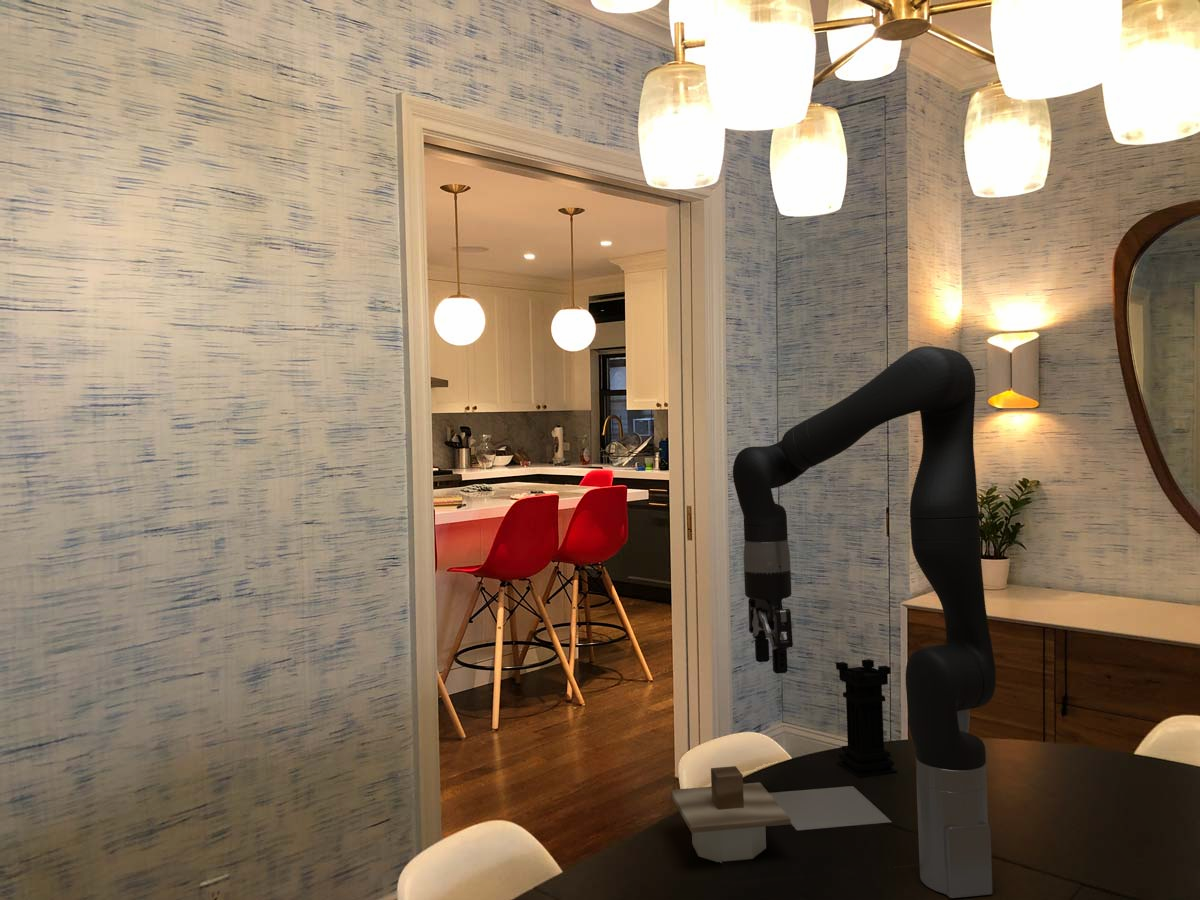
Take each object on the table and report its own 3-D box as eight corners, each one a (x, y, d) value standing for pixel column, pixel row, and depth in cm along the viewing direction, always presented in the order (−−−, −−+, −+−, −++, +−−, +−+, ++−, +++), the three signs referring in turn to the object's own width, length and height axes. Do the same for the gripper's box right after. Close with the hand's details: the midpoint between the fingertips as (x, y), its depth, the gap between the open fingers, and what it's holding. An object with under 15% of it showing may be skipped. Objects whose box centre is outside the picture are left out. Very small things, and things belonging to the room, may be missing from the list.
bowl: (772, 859, 137) (771, 819, 137) (703, 865, 135) (702, 825, 135) (752, 830, 147) (750, 793, 147) (688, 835, 146) (686, 798, 146)
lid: (790, 824, 135) (789, 785, 135) (691, 833, 133) (690, 793, 133) (760, 787, 150) (758, 752, 150) (670, 794, 148) (669, 759, 148)
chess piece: (859, 780, 167) (855, 671, 167) (836, 766, 175) (833, 662, 175) (897, 774, 169) (893, 667, 169) (873, 761, 177) (869, 658, 177)
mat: (892, 824, 148) (892, 821, 148) (796, 832, 146) (796, 830, 146) (852, 788, 163) (852, 786, 163) (766, 795, 161) (766, 793, 161)
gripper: (805, 571, 142) (809, 675, 142) (774, 562, 156) (777, 656, 156) (759, 574, 141) (763, 678, 141) (732, 564, 155) (735, 659, 155)
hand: (771, 667), depth 149 cm, fingers open, 8 cm apart
